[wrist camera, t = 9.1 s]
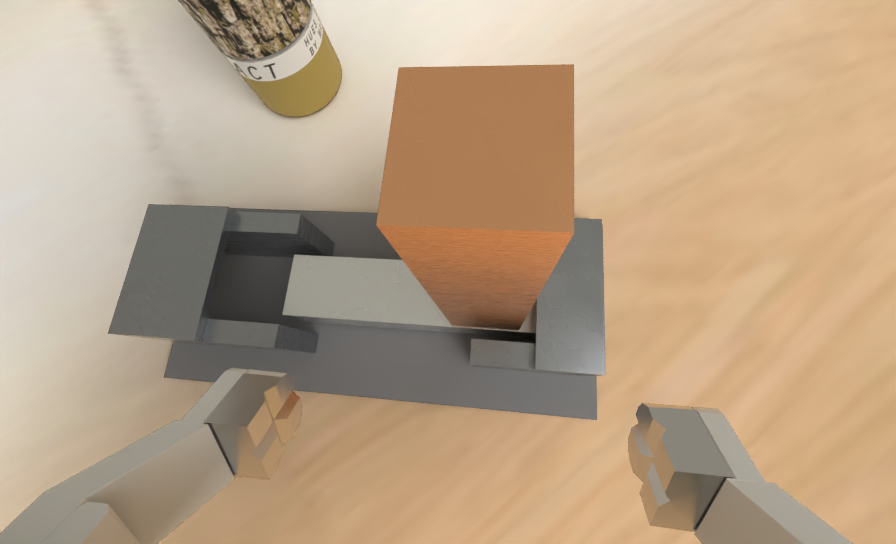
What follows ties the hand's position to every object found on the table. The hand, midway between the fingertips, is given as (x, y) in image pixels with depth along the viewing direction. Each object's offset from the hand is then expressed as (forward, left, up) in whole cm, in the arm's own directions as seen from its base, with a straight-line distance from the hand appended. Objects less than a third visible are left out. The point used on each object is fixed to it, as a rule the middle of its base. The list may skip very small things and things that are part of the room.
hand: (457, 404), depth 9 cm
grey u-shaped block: (-15, +5, -14) cm, 21 cm away
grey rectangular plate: (-7, +5, -14) cm, 16 cm away
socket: (+3, +5, -14) cm, 15 cm away
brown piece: (-4, +5, -14) cm, 15 cm away
